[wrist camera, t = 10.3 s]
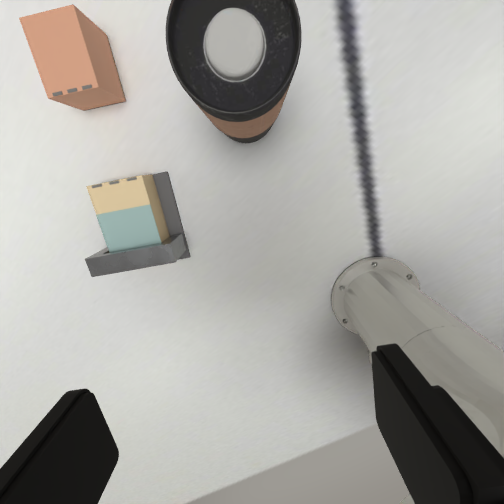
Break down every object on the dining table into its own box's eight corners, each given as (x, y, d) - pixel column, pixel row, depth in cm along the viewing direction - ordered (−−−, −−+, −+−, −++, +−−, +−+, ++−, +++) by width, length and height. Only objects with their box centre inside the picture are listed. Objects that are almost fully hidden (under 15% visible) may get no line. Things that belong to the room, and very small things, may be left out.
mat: (190, 256, 39) (189, 257, 39) (118, 269, 40) (117, 270, 40) (167, 171, 36) (166, 171, 36) (89, 187, 37) (87, 187, 36)
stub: (125, 101, 33) (98, 86, 28) (83, 110, 34) (47, 98, 28) (106, 34, 31) (72, 3, 26) (61, 45, 32) (18, 17, 26)
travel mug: (250, 158, 35) (245, 145, 16) (202, 118, 34) (135, 52, 15) (289, 106, 34) (334, 24, 14) (240, 62, 32) (218, -93, 13)
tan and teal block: (174, 253, 39) (166, 261, 36) (128, 261, 39) (115, 270, 36) (152, 174, 36) (141, 175, 32) (102, 184, 36) (85, 186, 33)
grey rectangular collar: (186, 248, 39) (175, 262, 33) (114, 261, 39) (91, 277, 34) (182, 232, 38) (170, 243, 33) (109, 246, 39) (84, 259, 33)
